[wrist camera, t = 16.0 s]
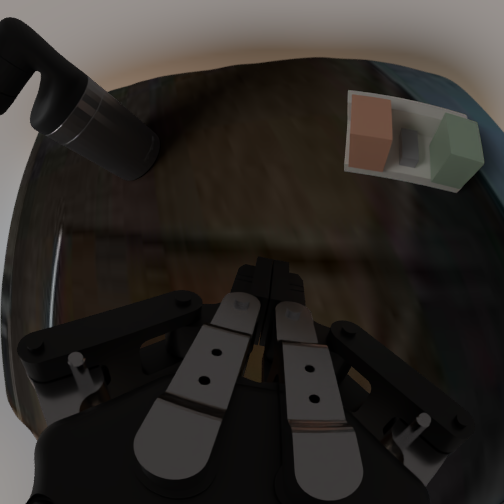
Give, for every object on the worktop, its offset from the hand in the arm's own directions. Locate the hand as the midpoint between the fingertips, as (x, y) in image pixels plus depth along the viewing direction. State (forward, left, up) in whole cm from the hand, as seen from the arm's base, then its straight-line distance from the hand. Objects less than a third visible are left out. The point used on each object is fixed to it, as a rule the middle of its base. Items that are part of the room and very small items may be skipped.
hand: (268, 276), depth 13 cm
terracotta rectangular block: (+5, +17, -16) cm, 23 cm away
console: (+10, +18, -18) cm, 27 cm away
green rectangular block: (+15, +17, -16) cm, 27 cm away
